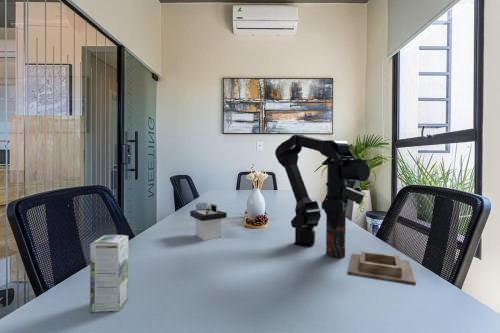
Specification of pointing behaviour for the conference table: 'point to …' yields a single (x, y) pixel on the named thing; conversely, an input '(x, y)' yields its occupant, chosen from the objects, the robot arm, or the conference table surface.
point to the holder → (381, 267)
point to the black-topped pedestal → (207, 221)
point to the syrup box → (108, 273)
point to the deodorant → (336, 237)
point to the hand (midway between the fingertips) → (335, 227)
